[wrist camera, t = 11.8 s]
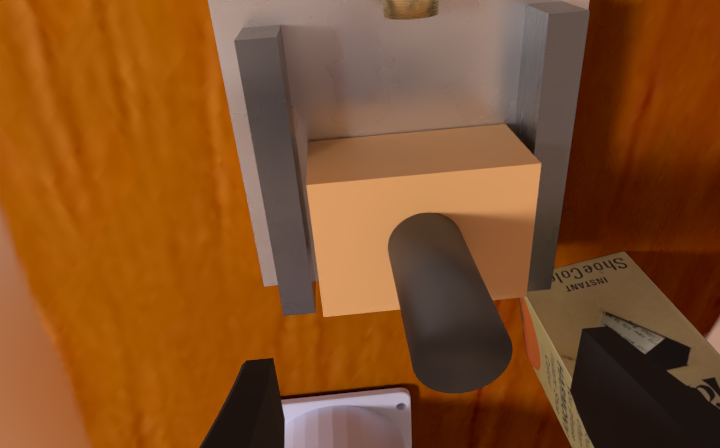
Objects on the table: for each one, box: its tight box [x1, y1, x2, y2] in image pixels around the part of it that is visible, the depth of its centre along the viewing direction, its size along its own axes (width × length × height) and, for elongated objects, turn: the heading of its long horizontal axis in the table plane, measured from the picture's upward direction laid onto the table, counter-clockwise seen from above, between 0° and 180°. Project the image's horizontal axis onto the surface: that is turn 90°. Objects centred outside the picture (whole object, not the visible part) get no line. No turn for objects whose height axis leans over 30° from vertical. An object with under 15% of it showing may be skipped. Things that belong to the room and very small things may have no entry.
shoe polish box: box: [519, 251, 720, 448], centre depth 20 cm, size 5×5×12 cm
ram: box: [306, 124, 541, 393], centre depth 16 cm, size 5×7×8 cm
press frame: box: [208, 0, 590, 316], centre depth 16 cm, size 20×12×5 cm, turn 4°
